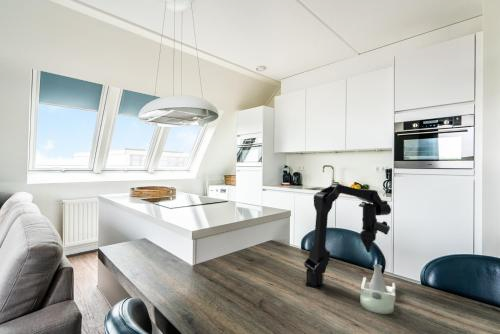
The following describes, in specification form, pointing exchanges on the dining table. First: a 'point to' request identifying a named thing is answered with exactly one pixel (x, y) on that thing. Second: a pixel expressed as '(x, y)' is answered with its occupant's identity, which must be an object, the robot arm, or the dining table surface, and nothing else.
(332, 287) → the dining table surface
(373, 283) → the flask
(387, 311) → the white tub with tabs
